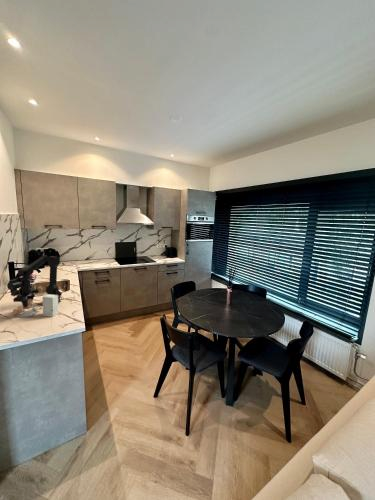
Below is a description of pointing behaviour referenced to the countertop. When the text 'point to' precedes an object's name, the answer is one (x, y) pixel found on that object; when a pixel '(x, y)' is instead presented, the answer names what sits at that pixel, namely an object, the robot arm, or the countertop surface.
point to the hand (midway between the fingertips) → (27, 306)
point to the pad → (27, 314)
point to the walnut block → (28, 304)
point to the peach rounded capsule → (21, 309)
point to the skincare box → (50, 305)
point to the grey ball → (34, 308)
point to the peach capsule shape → (16, 312)
